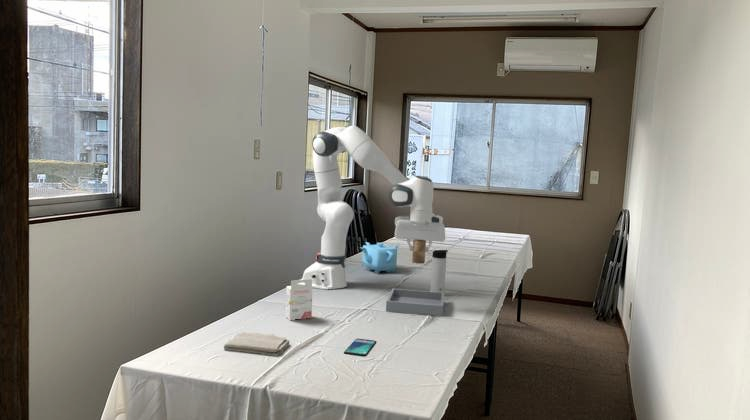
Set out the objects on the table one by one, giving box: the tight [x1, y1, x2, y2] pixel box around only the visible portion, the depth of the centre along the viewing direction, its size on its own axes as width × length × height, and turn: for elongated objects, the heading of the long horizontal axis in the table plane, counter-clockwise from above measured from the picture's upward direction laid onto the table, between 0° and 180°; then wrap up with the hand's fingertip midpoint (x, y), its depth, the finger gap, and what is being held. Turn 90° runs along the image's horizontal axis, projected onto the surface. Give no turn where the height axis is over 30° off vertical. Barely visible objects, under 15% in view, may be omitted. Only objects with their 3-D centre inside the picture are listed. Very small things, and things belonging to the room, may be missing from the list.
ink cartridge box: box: [285, 279, 313, 321], centre depth 215 cm, size 9×5×15 cm, turn 117°
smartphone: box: [343, 338, 377, 357], centre depth 188 cm, size 7×1×15 cm
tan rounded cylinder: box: [411, 240, 427, 264], centre depth 238 cm, size 5×5×9 cm
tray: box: [385, 287, 445, 317], centre depth 240 cm, size 22×22×4 cm
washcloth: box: [223, 331, 290, 356], centre depth 183 cm, size 12×18×3 cm, turn 81°
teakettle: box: [359, 241, 400, 274], centre depth 305 cm, size 19×19×15 cm
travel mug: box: [429, 249, 448, 294], centre depth 262 cm, size 6×7×20 cm
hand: (419, 251), depth 238 cm, fingers closed on tan rounded cylinder, 5 cm apart
